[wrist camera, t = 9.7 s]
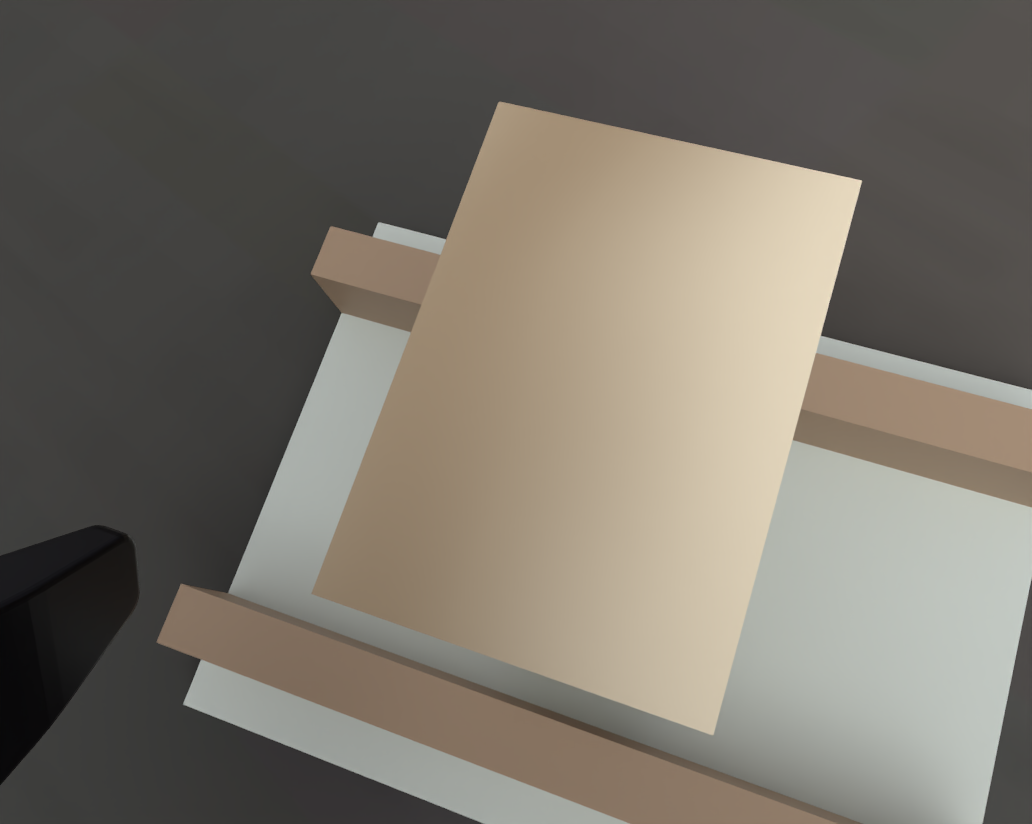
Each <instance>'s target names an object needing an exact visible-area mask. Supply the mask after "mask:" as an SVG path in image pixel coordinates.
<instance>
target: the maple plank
mask: <svg viewBox="0 0 1032 824" xmlns="http://www.w3.org/2000/svg"><path fill="white" fill-rule="evenodd" d="M861 183H862V181H861V180H856V179H852V178H847V177H843V176H838V175H834V174H829V173H824V172H820V171H815V170H811V169H806V168H802V167H797V166H792V165H788V164H783V163H779V162H774V161H769V160H765V159H760V158H756V157H751V156H747V155H742V154H737V153H733V152H728V151H724V150H719V149H714V148H710V147H705V146H701V145H696V144H692V143H687V142H682V141H678V140H673V139H669V138H664V137H660V136H655V135H650V134H646V133H641V132H637V131H632V130H627V129H623V128H618V127H614V126H609V125H605V124H600V123H595V122H591V121H586V120H582V119H577V118H572V117H568V116H563V115H559V114H554V113H550V112H545V111H540V110H536V109H531V108H527V107H522V106H518V105H513V104H508V103H504V102H499V103H498V105H497V108H496V111H495V113H494V116H493V118H492V121H491V124H490V126H489V129H488V132H487V134H486V137H485V139H484V142H483V145H482V147H481V150H480V153H479V155H478V158H477V160H476V163H475V166H474V168H473V171H472V174H471V176H470V179H469V181H468V184H467V187H466V189H465V192H464V194H463V197H462V200H461V202H460V205H459V208H458V210H457V213H456V215H455V218H454V221H453V223H452V226H451V229H450V231H449V234H448V236H447V239H446V242H445V244H444V247H443V250H442V252H441V255H440V257H439V260H438V263H437V265H436V268H435V271H434V273H433V276H432V278H431V281H430V284H429V286H428V289H427V292H426V294H425V297H424V299H423V302H422V305H421V307H420V310H419V313H418V315H417V318H416V320H415V323H414V326H413V328H412V331H411V333H410V336H409V339H408V341H407V344H406V347H405V349H404V352H403V354H402V357H401V360H400V362H399V365H398V368H397V370H396V373H395V375H394V378H393V381H392V383H391V386H390V389H389V391H388V394H387V396H386V399H385V402H384V404H383V407H382V410H381V412H380V415H379V417H378V420H377V423H376V425H375V428H374V431H373V433H372V436H371V438H370V441H369V444H368V446H367V449H366V451H365V454H364V457H363V459H362V462H361V465H360V467H359V470H358V472H357V475H356V478H355V480H354V483H353V486H352V488H351V491H350V493H349V496H348V499H347V501H346V504H345V507H344V509H343V512H342V514H341V517H340V520H339V522H338V525H337V528H336V530H335V533H334V535H333V538H332V541H331V543H330V546H329V549H328V551H327V554H326V556H325V559H324V562H323V564H322V567H321V569H320V572H319V575H318V577H317V580H316V583H315V585H314V588H313V590H312V593H311V594H313V595H316V596H318V597H321V598H324V599H327V600H330V601H333V602H335V603H338V604H341V605H344V606H347V607H350V608H352V609H355V610H358V611H361V612H364V613H367V614H370V615H372V616H375V617H378V618H381V619H384V620H387V621H389V622H392V623H395V624H398V625H401V626H404V627H406V628H409V629H412V630H415V631H418V632H421V633H423V634H426V635H429V636H432V637H435V638H438V639H440V640H443V641H446V642H449V643H452V644H455V645H457V646H460V647H463V648H466V649H469V650H472V651H474V652H477V653H480V654H483V655H486V656H489V657H491V658H494V659H497V660H500V661H503V662H506V663H508V664H511V665H514V666H517V667H520V668H523V669H526V670H528V671H531V672H534V673H537V674H540V675H543V676H545V677H548V678H551V679H554V680H557V681H560V682H562V683H565V684H568V685H571V686H574V687H577V688H579V689H582V690H585V691H588V692H591V693H594V694H596V695H599V696H602V697H605V698H608V699H611V700H613V701H616V702H619V703H622V704H625V705H628V706H630V707H633V708H636V709H639V710H642V711H645V712H647V713H650V714H653V715H656V716H659V717H662V718H665V719H667V720H670V721H673V722H676V723H679V724H682V725H684V726H687V727H690V728H693V729H696V730H699V731H701V732H704V733H707V734H710V735H714V731H715V727H716V724H717V720H718V716H719V712H720V709H721V705H722V701H723V697H724V694H725V690H726V686H727V683H728V679H729V675H730V671H731V668H732V664H733V660H734V656H735V653H736V649H737V645H738V642H739V638H740V634H741V630H742V627H743V623H744V619H745V615H746V612H747V608H748V604H749V600H750V597H751V593H752V589H753V586H754V582H755V578H756V574H757V571H758V567H759V563H760V559H761V556H762V552H763V548H764V545H765V541H766V537H767V533H768V530H769V526H770V522H771V518H772V515H773V511H774V507H775V504H776V500H777V496H778V492H779V489H780V485H781V481H782V477H783V474H784V470H785V466H786V462H787V459H788V455H789V451H790V448H791V444H792V440H793V436H794V433H795V429H796V425H797V421H798V418H799V414H800V410H801V407H802V403H803V399H804V395H805V392H806V388H807V384H808V380H809V377H810V373H811V369H812V365H813V362H814V358H815V354H816V351H817V347H818V343H819V339H820V336H821V332H822V328H823V324H824V321H825V317H826V313H827V310H828V306H829V302H830V298H831V295H832V291H833V287H834V283H835V280H836V276H837V272H838V269H839V265H840V261H841V257H842V254H843V250H844V246H845V242H846V239H847V235H848V231H849V227H850V224H851V220H852V216H853V213H854V209H855V205H856V201H857V198H858V194H859V190H860V186H861Z"/></svg>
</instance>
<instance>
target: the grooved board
mask: <svg viewBox="0 0 1032 824" xmlns="http://www.w3.org/2000/svg"><path fill="white" fill-rule="evenodd" d="M445 242H446V239H442V238H438V237H434V236H431V235H427V234H423V233H419V232H415V231H411V230H407V229H403V228H399V227H396V226H392V225H388V224H384V223H380V222H378V225H377V227H376V230H375V232H374V235H373V237H370V236H367V235H363V234H359V233H355V232H351V231H348V230H344V229H340V228H336V227H332V226H331V227H330V229H329V231H328V234H327V236H326V239H325V241H324V243H323V246H322V248H321V251H320V253H319V255H318V258H317V260H316V262H315V265H314V267H313V270H312V272H311V275H312V277H313V278H314V279H315V280H316V282H317V283H318V284H319V285H320V287H321V288H322V289H323V290H324V291H325V293H326V294H327V295H328V296H329V298H330V299H331V300H332V301H333V303H334V304H335V305H336V306H337V307H338V309H339V310H340V311H341V312H342V313H341V316H340V318H339V321H338V323H337V326H336V328H335V331H334V333H333V336H332V338H331V341H330V343H329V346H328V348H327V350H326V353H325V355H324V358H323V360H322V363H321V365H320V368H319V370H318V373H317V375H316V378H315V380H314V383H313V385H312V387H311V390H310V392H309V395H308V397H307V400H306V402H305V405H304V407H303V410H302V412H301V415H300V417H299V420H298V422H297V425H296V427H295V429H294V432H293V434H292V437H291V439H290V442H289V444H288V447H287V449H286V452H285V454H284V457H283V459H282V462H281V464H280V466H279V469H278V471H277V474H276V476H275V479H274V481H273V484H272V486H271V489H270V491H269V494H268V496H267V499H266V501H265V503H264V506H263V508H262V511H261V513H260V516H259V518H258V521H257V523H256V526H255V528H254V531H253V533H252V536H251V538H250V540H249V543H248V545H247V548H246V550H245V553H244V555H243V558H242V560H241V563H240V565H239V568H238V570H237V573H236V575H235V577H234V580H233V582H232V585H231V587H230V590H229V592H228V593H224V592H219V591H214V590H209V589H204V588H199V587H194V586H189V585H184V584H181V585H180V588H179V590H178V592H177V595H176V597H175V599H174V602H173V604H172V607H171V609H170V611H169V614H168V616H167V619H166V621H165V623H164V626H163V628H162V631H161V633H160V635H159V638H158V640H157V643H159V644H162V645H165V646H167V647H170V648H172V649H175V650H178V651H180V652H183V653H185V654H188V655H191V656H193V657H196V658H199V659H201V661H200V664H199V666H198V669H197V671H196V674H195V676H194V679H193V681H192V684H191V686H190V689H189V691H188V693H187V696H186V698H185V701H184V703H183V705H186V706H188V707H191V708H194V709H196V710H199V711H201V712H204V713H206V714H209V715H211V716H214V717H216V718H219V719H221V720H224V721H226V722H229V723H231V724H234V725H236V726H239V727H241V728H244V729H247V730H249V731H252V732H254V733H257V734H259V735H262V736H264V737H267V738H269V739H272V740H274V741H277V742H279V743H282V744H284V745H287V746H289V747H292V748H294V749H297V750H300V751H302V752H305V753H307V754H310V755H312V756H315V757H317V758H320V759H322V760H325V761H327V762H330V763H332V764H335V765H337V766H340V767H342V768H345V769H347V770H350V771H353V772H355V773H358V774H360V775H363V776H365V777H368V778H370V779H373V780H375V781H378V782H380V783H383V784H385V785H388V786H390V787H393V788H395V789H398V790H400V791H403V792H406V793H408V794H411V795H413V796H416V797H418V798H421V799H423V800H426V801H428V802H431V803H433V804H436V805H438V806H441V807H443V808H446V809H448V810H451V811H453V812H456V813H459V814H461V815H464V816H466V817H469V818H471V819H474V820H476V821H479V822H481V823H484V824H982V823H983V818H984V813H985V808H986V803H987V798H988V793H989V788H990V783H991V778H992V773H993V768H994V763H995V758H996V753H997V748H998V743H999V738H1000V733H1001V728H1002V723H1003V718H1004V713H1005V708H1006V703H1007V698H1008V693H1009V688H1010V683H1011V678H1012V673H1013V668H1014V663H1015V658H1016V653H1017V648H1018V643H1019V638H1020V633H1021V628H1022V623H1023V618H1024V613H1025V608H1026V603H1027V598H1028V593H1029V588H1030V583H1031V578H1032V390H1029V389H1025V388H1021V387H1018V386H1014V385H1010V384H1006V383H1002V382H998V381H994V380H990V379H986V378H983V377H979V376H975V375H971V374H967V373H963V372H959V371H955V370H951V369H948V368H944V367H940V366H936V365H932V364H928V363H924V362H920V361H916V360H913V359H909V358H905V357H901V356H897V355H893V354H889V353H885V352H881V351H878V350H874V349H870V348H866V347H862V346H858V345H854V344H850V343H846V342H843V341H839V340H835V339H831V338H827V337H823V336H820V339H819V343H818V347H817V351H816V354H815V358H814V362H813V365H812V369H811V373H810V377H809V380H808V384H807V388H806V392H805V395H804V399H803V403H802V407H801V410H800V414H799V418H798V421H797V425H796V429H795V433H794V436H793V440H792V444H791V448H790V451H789V455H788V459H787V462H786V466H785V470H784V474H783V477H782V481H781V485H780V489H779V492H778V496H777V500H776V504H775V507H774V511H773V515H772V518H771V522H770V526H769V530H768V533H767V537H766V541H765V545H764V548H763V552H762V556H761V559H760V563H759V567H758V571H757V574H756V578H755V582H754V586H753V589H752V593H751V597H750V600H749V604H748V608H747V612H746V615H745V619H744V623H743V627H742V630H741V634H740V638H739V642H738V645H737V649H736V653H735V656H734V660H733V664H732V668H731V671H730V675H729V679H728V683H727V686H726V690H725V694H724V697H723V701H722V705H721V709H720V712H719V716H718V720H717V724H716V727H715V731H714V735H710V734H707V733H704V732H701V731H699V730H696V729H693V728H690V727H687V726H684V725H682V724H679V723H676V722H673V721H670V720H667V719H665V718H662V717H659V716H656V715H653V714H650V713H647V712H645V711H642V710H639V709H636V708H633V707H630V706H628V705H625V704H622V703H619V702H616V701H613V700H611V699H608V698H605V697H602V696H599V695H596V694H594V693H591V692H588V691H585V690H582V689H579V688H577V687H574V686H571V685H568V684H565V683H562V682H560V681H557V680H554V679H551V678H548V677H545V676H543V675H540V674H537V673H534V672H531V671H528V670H526V669H523V668H520V667H517V666H514V665H511V664H508V663H506V662H503V661H500V660H497V659H494V658H491V657H489V656H486V655H483V654H480V653H477V652H474V651H472V650H469V649H466V648H463V647H460V646H457V645H455V644H452V643H449V642H446V641H443V640H440V639H438V638H435V637H432V636H429V635H426V634H423V633H421V632H418V631H415V630H412V629H409V628H406V627H404V626H401V625H398V624H395V623H392V622H389V621H387V620H384V619H381V618H378V617H375V616H372V615H370V614H367V613H364V612H361V611H358V610H355V609H352V608H350V607H347V606H344V605H341V604H338V603H335V602H333V601H330V600H327V599H324V598H321V597H318V596H316V595H313V594H311V593H312V590H313V588H314V585H315V583H316V580H317V577H318V575H319V572H320V569H321V567H322V564H323V562H324V559H325V556H326V554H327V551H328V549H329V546H330V543H331V541H332V538H333V535H334V533H335V530H336V528H337V525H338V522H339V520H340V517H341V514H342V512H343V509H344V507H345V504H346V501H347V499H348V496H349V493H350V491H351V488H352V486H353V483H354V480H355V478H356V475H357V472H358V470H359V467H360V465H361V462H362V459H363V457H364V454H365V451H366V449H367V446H368V444H369V441H370V438H371V436H372V433H373V431H374V428H375V425H376V423H377V420H378V417H379V415H380V412H381V410H382V407H383V404H384V402H385V399H386V396H387V394H388V391H389V389H390V386H391V383H392V381H393V378H394V375H395V373H396V370H397V368H398V365H399V362H400V360H401V357H402V354H403V352H404V349H405V347H406V344H407V341H408V339H409V336H410V333H411V331H412V328H413V326H414V323H415V320H416V318H417V315H418V313H419V310H420V307H421V305H422V302H423V299H424V297H425V294H426V292H427V289H428V286H429V284H430V281H431V278H432V276H433V273H434V271H435V268H436V265H437V263H438V260H439V257H440V255H441V252H442V250H443V247H444V244H445Z"/></svg>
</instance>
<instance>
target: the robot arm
mask: <svg viewBox="0 0 1032 824" xmlns="http://www.w3.org/2000/svg"><path fill="white" fill-rule="evenodd" d="M139 593H140V586H139V575H138V564H137V554H136V545H135V542H134V540H133V539H132V537H131V536H129V535H128V534H126V533H123V532H120V531H117V530H114V529H112V528H109V527H106V526H101V525H95V526H91V527H87V528H84V529H81V530H78V531H75V532H72V533H69V534H66V535H63V536H60V537H57V538H54V539H50V540H47V541H44V542H41V543H38V544H35V545H32V546H29V547H26V548H23V549H20V550H17V551H14V552H11V553H8V554H5V555H1V556H0V785H1V784H2V783H3V781H4V780H5V779H6V778H7V777H8V776H9V775H10V773H11V772H12V771H13V770H14V769H15V768H16V766H17V765H18V764H19V763H20V762H21V761H22V760H23V758H24V757H25V756H26V755H27V754H28V753H29V752H30V750H31V749H32V748H33V747H34V746H35V745H36V743H37V742H38V741H39V740H40V739H41V737H42V736H43V735H44V734H45V733H46V731H47V730H48V729H49V728H50V727H51V725H52V724H53V723H54V721H55V720H56V719H57V717H58V716H59V715H60V713H61V712H62V711H63V709H64V708H65V707H66V705H67V704H68V703H69V701H70V700H71V698H72V697H73V696H74V694H75V693H76V691H77V690H78V689H79V687H80V686H81V684H82V683H83V682H84V680H85V679H86V677H87V676H88V674H89V673H90V672H91V670H92V669H93V667H94V666H95V665H96V663H97V662H98V660H99V659H100V658H101V656H102V655H103V653H104V652H105V651H106V649H107V648H108V646H109V645H110V644H111V642H112V641H113V639H114V638H115V637H116V635H117V634H118V632H119V631H120V629H121V628H122V627H123V625H124V624H125V622H126V621H127V620H128V618H129V617H130V615H131V614H132V612H133V611H134V609H135V607H136V605H137V602H138V599H139Z"/></svg>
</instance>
